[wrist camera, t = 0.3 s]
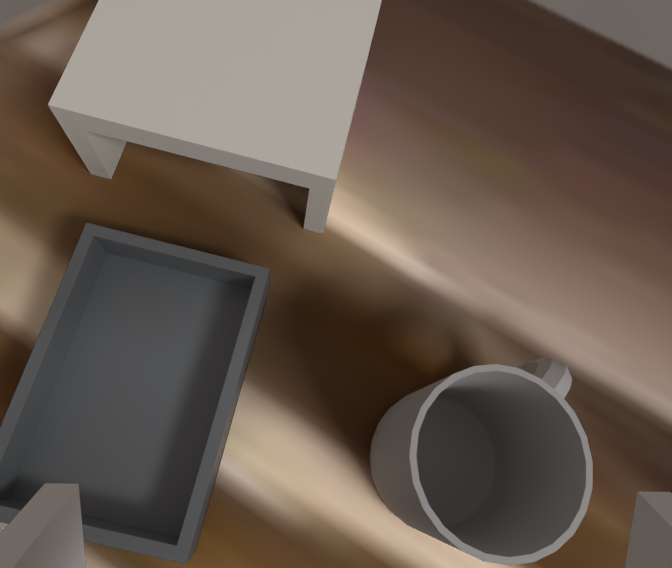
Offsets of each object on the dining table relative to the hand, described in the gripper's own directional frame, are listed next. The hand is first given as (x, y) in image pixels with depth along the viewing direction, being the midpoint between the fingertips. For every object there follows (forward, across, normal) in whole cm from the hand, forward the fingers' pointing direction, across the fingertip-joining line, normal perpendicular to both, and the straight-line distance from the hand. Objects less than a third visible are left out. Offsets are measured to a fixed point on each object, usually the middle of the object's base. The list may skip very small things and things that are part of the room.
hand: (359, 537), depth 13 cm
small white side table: (+24, +7, -11) cm, 27 cm away
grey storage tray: (+15, +10, +3) cm, 19 cm away
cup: (+16, -6, +6) cm, 18 cm away
